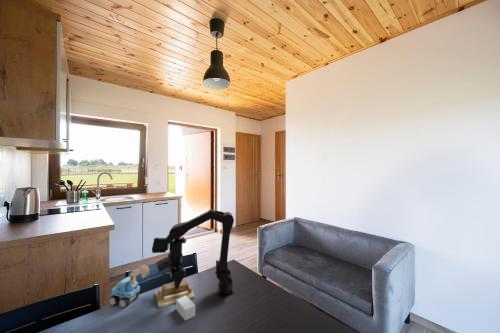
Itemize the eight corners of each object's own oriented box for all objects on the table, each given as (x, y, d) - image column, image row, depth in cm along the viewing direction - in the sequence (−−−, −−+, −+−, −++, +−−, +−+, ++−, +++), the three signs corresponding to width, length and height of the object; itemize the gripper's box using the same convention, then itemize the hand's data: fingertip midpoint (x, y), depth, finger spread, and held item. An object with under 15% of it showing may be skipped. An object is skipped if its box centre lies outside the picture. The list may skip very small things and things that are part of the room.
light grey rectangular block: (176, 309, 94) (176, 299, 94) (185, 305, 97) (186, 295, 97) (185, 321, 87) (185, 310, 87) (195, 316, 90) (195, 305, 90)
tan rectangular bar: (185, 288, 108) (185, 279, 108) (187, 293, 104) (187, 284, 104) (162, 294, 103) (162, 284, 103) (163, 299, 99) (163, 289, 99)
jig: (188, 285, 113) (188, 280, 113) (194, 298, 102) (194, 292, 102) (155, 293, 105) (155, 287, 105) (158, 308, 94) (158, 301, 94)
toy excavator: (139, 311, 92) (140, 271, 92) (106, 305, 95) (107, 266, 95) (152, 299, 100) (153, 262, 100) (121, 294, 104) (122, 258, 104)
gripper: (155, 247, 108) (154, 278, 108) (159, 262, 91) (158, 299, 91) (178, 244, 113) (177, 273, 113) (186, 258, 97) (185, 292, 97)
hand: (174, 284), depth 103 cm, fingers open, 9 cm apart
